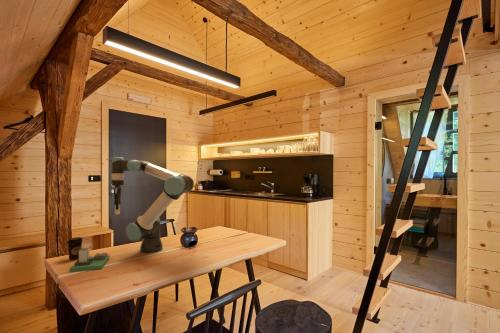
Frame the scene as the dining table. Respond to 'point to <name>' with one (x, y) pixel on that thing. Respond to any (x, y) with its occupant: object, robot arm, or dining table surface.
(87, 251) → the plug
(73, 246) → the coffee cup
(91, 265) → the board
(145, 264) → the dining table surface
